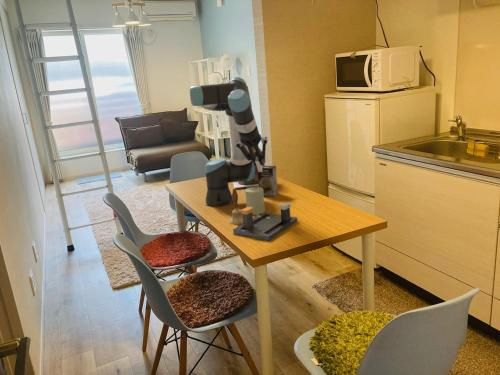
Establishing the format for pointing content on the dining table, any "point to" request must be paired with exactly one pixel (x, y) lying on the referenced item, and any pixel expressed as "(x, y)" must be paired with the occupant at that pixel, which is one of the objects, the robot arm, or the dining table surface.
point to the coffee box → (268, 180)
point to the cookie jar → (254, 181)
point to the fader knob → (247, 217)
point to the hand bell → (236, 211)
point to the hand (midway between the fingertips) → (260, 169)
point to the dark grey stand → (268, 224)
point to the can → (255, 199)
